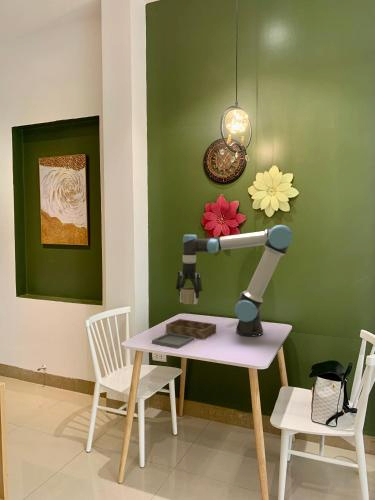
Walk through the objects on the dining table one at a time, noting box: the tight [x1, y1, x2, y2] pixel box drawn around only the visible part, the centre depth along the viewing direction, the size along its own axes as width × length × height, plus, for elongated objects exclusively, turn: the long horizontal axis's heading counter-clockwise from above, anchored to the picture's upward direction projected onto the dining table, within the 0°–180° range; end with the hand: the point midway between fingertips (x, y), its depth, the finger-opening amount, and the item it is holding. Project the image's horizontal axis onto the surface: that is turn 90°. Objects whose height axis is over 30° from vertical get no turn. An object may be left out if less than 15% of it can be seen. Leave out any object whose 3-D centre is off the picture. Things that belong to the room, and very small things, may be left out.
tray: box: [151, 333, 195, 349], centre depth 202 cm, size 16×16×2 cm
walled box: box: [165, 318, 217, 341], centre depth 218 cm, size 24×15×5 cm, turn 60°
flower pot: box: [180, 286, 195, 305], centre depth 215 cm, size 9×9×9 cm
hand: (188, 303), depth 215 cm, fingers closed on flower pot, 8 cm apart
